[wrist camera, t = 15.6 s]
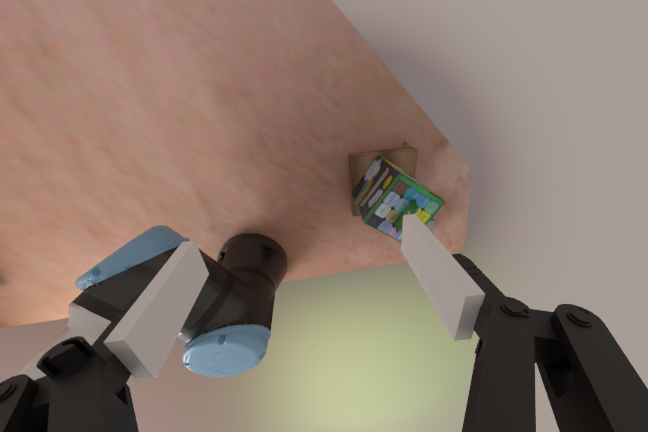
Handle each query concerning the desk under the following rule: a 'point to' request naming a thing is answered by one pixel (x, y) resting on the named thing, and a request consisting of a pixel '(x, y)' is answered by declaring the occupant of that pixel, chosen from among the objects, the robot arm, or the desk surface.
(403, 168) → the block
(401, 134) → the desk surface
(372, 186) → the chalk box
